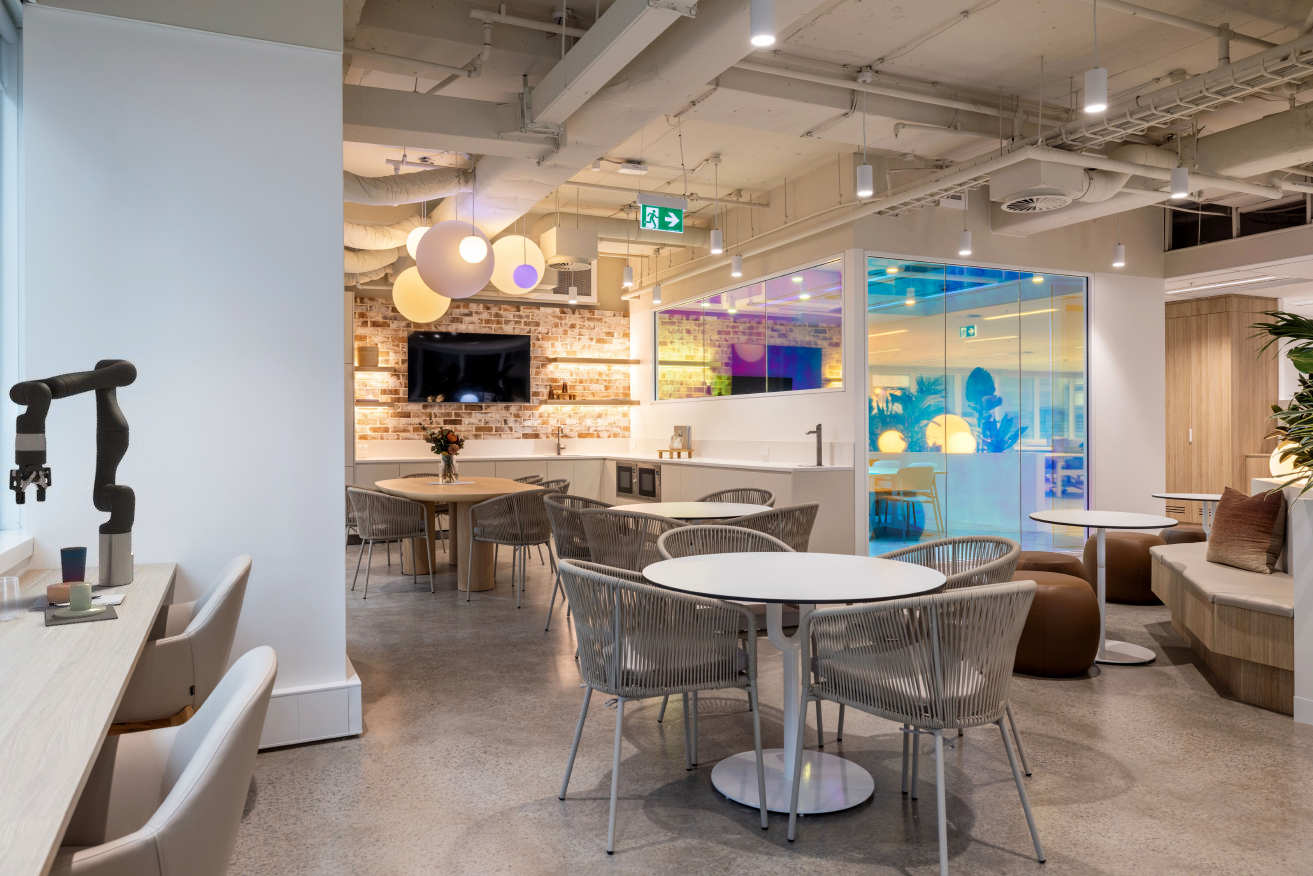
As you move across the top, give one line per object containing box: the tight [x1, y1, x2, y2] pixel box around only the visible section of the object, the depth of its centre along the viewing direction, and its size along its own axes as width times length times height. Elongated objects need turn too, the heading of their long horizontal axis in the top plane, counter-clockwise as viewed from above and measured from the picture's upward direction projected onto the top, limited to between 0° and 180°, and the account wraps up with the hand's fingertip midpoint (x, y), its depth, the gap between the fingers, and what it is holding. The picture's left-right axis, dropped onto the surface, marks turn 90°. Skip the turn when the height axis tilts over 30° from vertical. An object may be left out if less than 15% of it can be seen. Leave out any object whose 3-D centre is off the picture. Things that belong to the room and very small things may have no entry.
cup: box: [59, 546, 88, 583], centre depth 259 cm, size 7×7×15 cm
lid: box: [55, 582, 106, 618], centre depth 235 cm, size 12×12×8 cm
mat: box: [45, 603, 119, 627], centre depth 235 cm, size 22×16×1 cm
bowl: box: [46, 581, 93, 603], centre depth 249 cm, size 11×11×6 cm
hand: (31, 502), depth 249 cm, fingers open, 8 cm apart
